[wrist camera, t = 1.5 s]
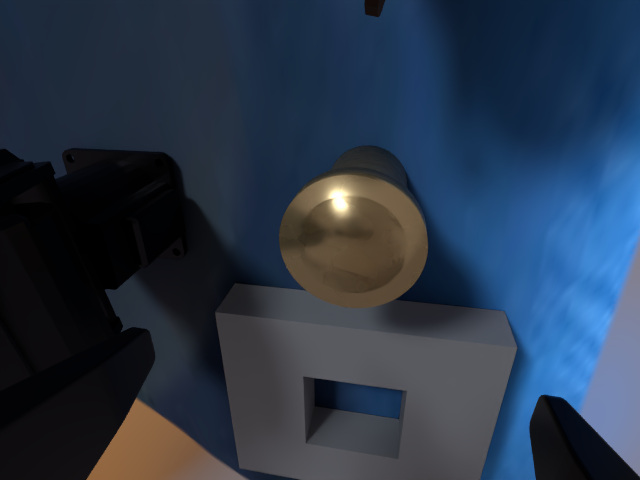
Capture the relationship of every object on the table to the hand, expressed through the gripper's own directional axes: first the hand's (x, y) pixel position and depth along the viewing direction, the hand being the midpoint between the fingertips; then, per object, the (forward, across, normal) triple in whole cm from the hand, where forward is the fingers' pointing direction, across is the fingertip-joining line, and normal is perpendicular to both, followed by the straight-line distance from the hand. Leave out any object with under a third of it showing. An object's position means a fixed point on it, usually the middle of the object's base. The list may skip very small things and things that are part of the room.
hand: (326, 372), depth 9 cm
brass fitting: (+13, 0, 0) cm, 13 cm away
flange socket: (+13, 0, +14) cm, 19 cm away
